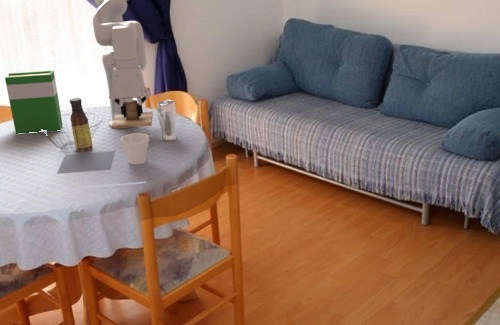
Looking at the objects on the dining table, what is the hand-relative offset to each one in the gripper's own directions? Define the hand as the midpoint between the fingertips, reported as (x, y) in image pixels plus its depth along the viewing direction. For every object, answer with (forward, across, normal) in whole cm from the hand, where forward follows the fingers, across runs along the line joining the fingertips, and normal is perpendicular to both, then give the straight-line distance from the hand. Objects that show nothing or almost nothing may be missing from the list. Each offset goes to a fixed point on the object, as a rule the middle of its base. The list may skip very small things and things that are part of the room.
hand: (132, 115), depth 199 cm
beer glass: (+17, +11, +22) cm, 30 cm away
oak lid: (+2, 0, 0) cm, 2 cm away
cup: (+18, 0, 0) cm, 18 cm away
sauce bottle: (+17, -21, +17) cm, 32 cm away
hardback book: (+17, -43, +45) cm, 65 cm away
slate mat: (+17, -18, +3) cm, 25 cm away
